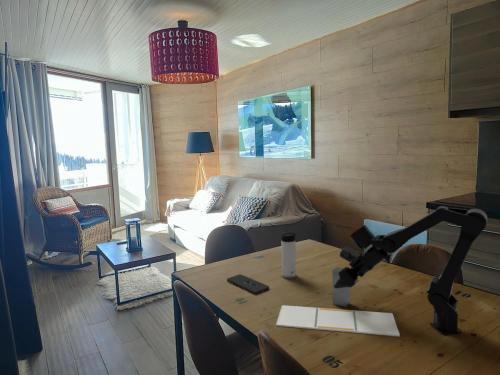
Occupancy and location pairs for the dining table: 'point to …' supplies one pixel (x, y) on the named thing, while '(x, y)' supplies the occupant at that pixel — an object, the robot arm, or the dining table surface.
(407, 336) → the dining table surface
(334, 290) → the translucent grey tumbler
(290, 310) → the board
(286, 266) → the travel mug
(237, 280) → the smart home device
